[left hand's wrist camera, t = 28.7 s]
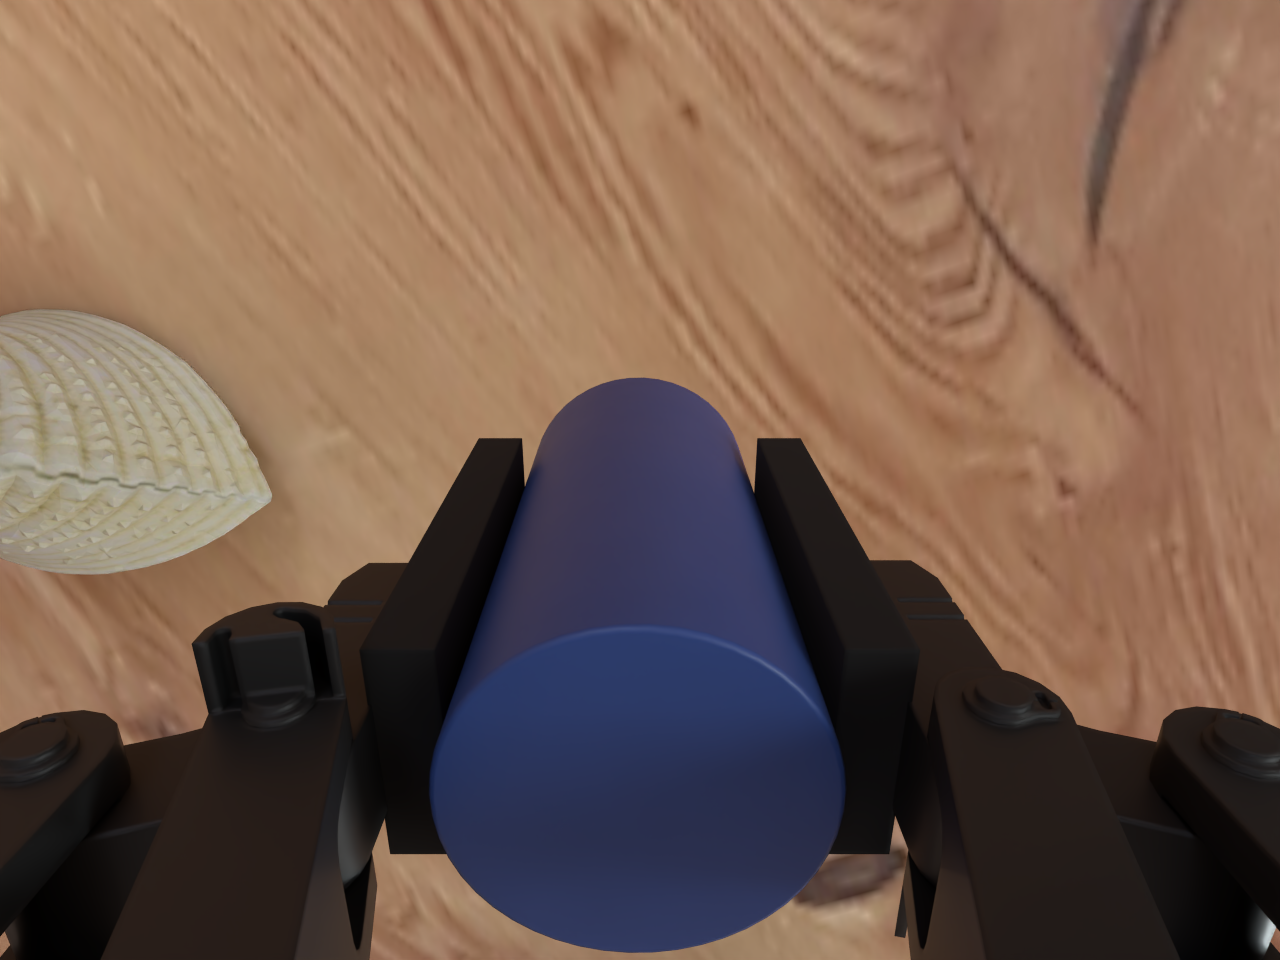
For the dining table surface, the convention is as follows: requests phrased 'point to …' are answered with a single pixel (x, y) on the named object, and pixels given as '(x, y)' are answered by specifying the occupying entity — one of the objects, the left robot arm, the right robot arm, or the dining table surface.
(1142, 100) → the dining table surface
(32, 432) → the seashell
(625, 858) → the cylinder
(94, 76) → the dining table surface
